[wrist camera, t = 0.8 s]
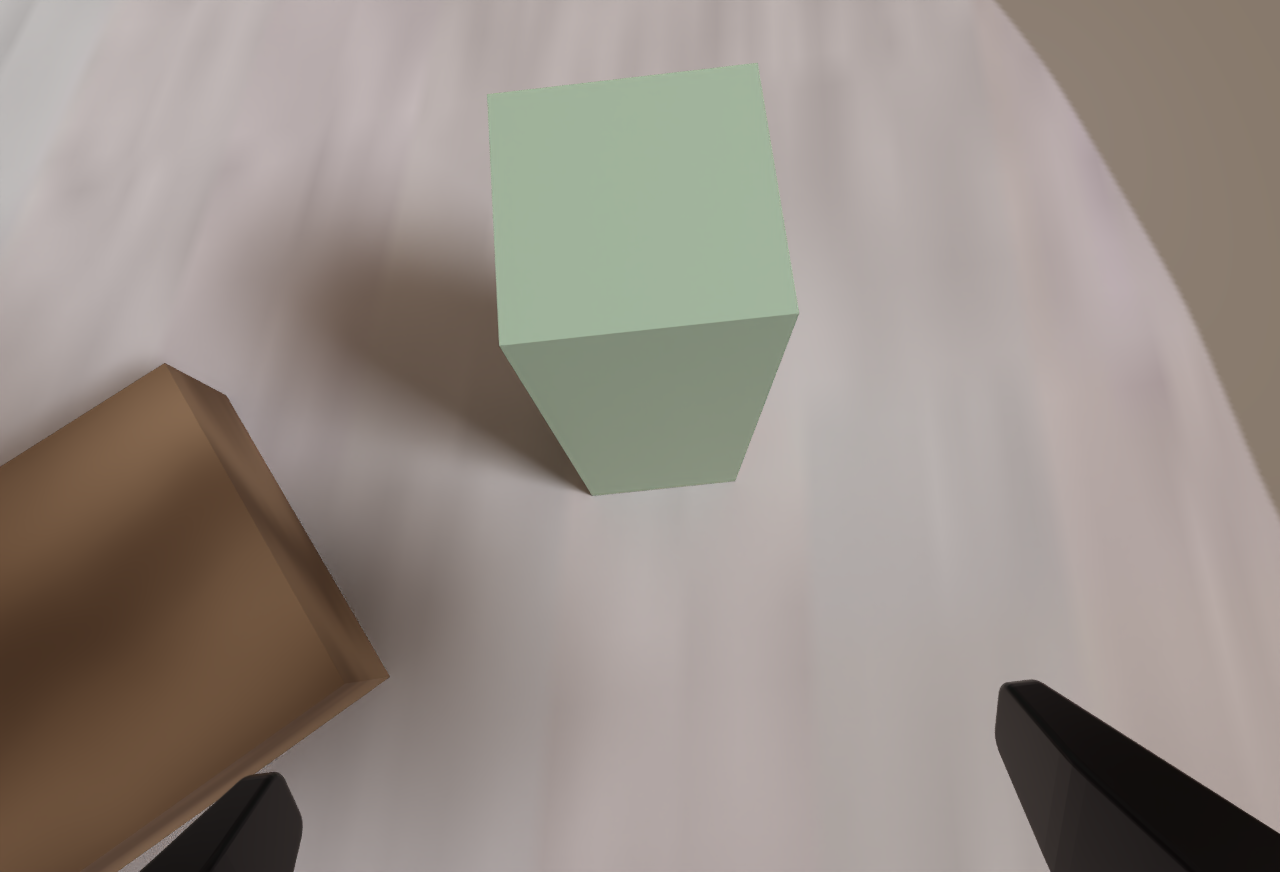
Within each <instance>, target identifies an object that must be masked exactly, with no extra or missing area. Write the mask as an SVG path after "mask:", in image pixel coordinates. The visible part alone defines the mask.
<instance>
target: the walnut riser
mask: <svg viewBox="0 0 1280 872" xmlns="http://www.w3.org/2000/svg"><path fill="white" fill-rule="evenodd" d="M389 677H390V676H389V674H388V673H387V671H386V669H385V668H384V666H383V664H382V662H381V661H380V659H379V657H378V655H377V654H376V652H375V650H374V649H373V647H372V645H371V643H370V642H369V640H368V638H367V637H366V635H365V633H364V631H363V630H362V628H361V626H360V625H359V623H358V621H357V619H356V618H355V616H354V614H353V613H352V611H351V609H350V607H349V606H348V604H347V602H346V600H345V599H344V597H343V595H342V594H341V592H340V590H339V588H338V587H337V585H336V583H335V582H334V580H333V578H332V576H331V575H330V573H329V571H328V570H327V568H326V566H325V564H324V563H323V561H322V559H321V557H320V556H319V554H318V552H317V551H316V549H315V547H314V545H313V544H312V542H311V540H310V539H309V537H308V535H307V533H306V532H305V530H304V528H303V527H302V525H301V523H300V521H299V520H298V518H297V516H296V515H295V513H294V511H293V509H292V508H291V506H290V504H289V502H288V501H287V499H286V497H285V496H284V494H283V492H282V490H281V489H280V487H279V485H278V484H277V482H276V480H275V478H274V477H273V475H272V473H271V472H270V470H269V468H268V466H267V465H266V463H265V461H264V459H263V458H262V456H261V454H260V453H259V451H258V449H257V447H256V446H255V444H254V442H253V441H252V439H251V437H250V435H249V434H248V432H247V430H246V429H245V427H244V425H243V423H242V422H241V420H240V418H239V417H238V415H237V413H236V411H235V410H234V408H233V406H232V404H231V403H230V401H229V399H228V398H227V396H226V395H224V394H222V393H220V392H218V391H217V390H215V389H213V388H211V387H209V386H207V385H205V384H203V383H201V382H200V381H198V380H196V379H194V378H192V377H190V376H188V375H186V374H184V373H183V372H181V371H179V370H177V369H175V368H173V367H171V366H169V365H167V364H166V363H164V364H162V365H161V366H159V367H158V368H156V369H154V370H153V371H151V372H150V373H148V374H147V375H145V376H143V377H142V378H140V379H139V380H137V381H135V382H134V383H132V384H131V385H129V386H128V387H126V388H124V389H123V390H121V391H120V392H118V393H116V394H115V395H113V396H112V397H110V398H109V399H107V400H105V401H104V402H102V403H101V404H99V405H97V406H96V407H94V408H93V409H91V410H90V411H88V412H86V413H85V414H83V415H82V416H80V417H78V418H77V419H75V420H74V421H72V422H71V423H69V424H67V425H66V426H64V427H63V428H61V429H59V430H58V431H56V432H55V433H53V434H52V435H50V436H48V437H47V438H45V439H44V440H42V441H40V442H39V443H37V444H36V445H34V446H33V447H31V448H29V449H28V450H26V451H25V452H23V453H21V454H20V455H18V456H17V457H15V458H14V459H12V460H10V461H9V462H7V463H6V464H4V465H2V466H1V467H0V872H118V871H119V870H120V869H122V868H123V867H125V866H126V865H127V864H129V863H130V862H132V861H133V860H134V859H136V858H137V857H139V856H140V855H141V854H143V853H144V852H146V851H147V850H148V849H150V848H151V847H153V846H154V845H155V844H157V843H158V842H160V841H161V840H162V839H164V838H165V837H167V836H168V835H169V834H171V833H172V832H174V831H175V830H176V829H178V828H179V827H181V826H182V825H183V824H185V823H186V822H188V821H189V820H190V819H192V818H193V817H195V816H196V815H197V814H199V813H200V812H202V811H203V810H204V809H206V808H207V807H209V806H210V805H211V804H213V803H214V802H216V801H217V800H218V799H219V798H221V797H222V796H223V795H224V794H225V793H226V792H227V791H228V790H229V789H230V788H231V787H233V786H234V785H235V784H236V783H237V782H238V781H239V780H241V779H242V778H244V777H245V776H248V775H253V774H255V773H256V772H258V771H259V770H260V769H262V768H263V767H265V766H266V765H267V764H269V763H270V762H272V761H273V760H274V759H276V758H277V757H279V756H280V755H281V754H283V753H284V752H286V751H287V750H288V749H290V748H291V747H293V746H294V745H295V744H297V743H298V742H300V741H301V740H302V739H304V738H305V737H307V736H308V735H309V734H311V733H312V732H314V731H315V730H316V729H318V728H319V727H321V726H322V725H323V724H325V723H326V722H328V721H329V720H330V719H332V718H333V717H335V716H336V715H337V714H339V713H340V712H342V711H343V710H344V709H346V708H347V707H349V706H350V705H351V704H353V703H354V702H356V701H357V700H358V699H360V698H361V697H363V696H364V695H365V694H367V693H368V692H370V691H371V690H372V689H374V688H375V687H377V686H378V685H379V684H381V683H382V682H384V681H385V680H386V679H388V678H389Z"/></svg>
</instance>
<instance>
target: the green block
mask: <svg viewBox="0 0 1280 872" xmlns="http://www.w3.org/2000/svg"><path fill="white" fill-rule="evenodd" d="M487 102H488V123H489V144H490V164H491V185H492V206H493V227H494V248H495V269H496V290H497V310H498V331H499V346H500V348H501V350H502V351H503V353H504V354H505V356H506V358H507V359H508V361H509V362H510V364H511V366H512V367H513V369H514V370H515V372H516V374H517V375H518V377H519V379H520V380H521V382H522V383H523V385H524V387H525V388H526V390H527V391H528V393H529V395H530V396H531V398H532V399H533V401H534V403H535V404H536V406H537V408H538V409H539V411H540V412H541V414H542V416H543V417H544V419H545V420H546V422H547V424H548V425H549V427H550V429H551V430H552V432H553V433H554V435H555V437H556V438H557V440H558V441H559V443H560V445H561V446H562V448H563V449H564V451H565V453H566V454H567V456H568V458H569V459H570V461H571V462H572V464H573V466H574V467H575V469H576V470H577V472H578V474H579V475H580V477H581V478H582V480H583V482H584V483H585V485H586V487H587V488H588V490H589V491H590V493H591V495H592V496H596V495H606V494H616V493H625V492H635V491H645V490H654V489H664V488H674V487H684V486H693V485H703V484H713V483H722V482H732V481H735V480H736V477H737V475H738V472H739V469H740V467H741V464H742V462H743V459H744V456H745V454H746V451H747V448H748V446H749V443H750V441H751V438H752V435H753V433H754V430H755V428H756V425H757V422H758V420H759V417H760V414H761V412H762V409H763V407H764V404H765V401H766V399H767V396H768V393H769V391H770V388H771V386H772V383H773V380H774V378H775V375H776V372H777V370H778V367H779V365H780V362H781V359H782V357H783V354H784V351H785V349H786V346H787V344H788V341H789V338H790V336H791V333H792V330H793V328H794V325H795V323H796V320H797V317H798V315H799V310H798V304H797V298H796V292H795V286H794V280H793V274H792V268H791V262H790V256H789V250H788V244H787V238H786V232H785V226H784V220H783V214H782V207H781V201H780V195H779V189H778V183H777V177H776V171H775V165H774V159H773V153H772V147H771V141H770V135H769V129H768V123H767V117H766V111H765V105H764V99H763V93H762V87H761V81H760V75H759V69H758V63H753V64H744V65H736V66H727V67H718V68H710V69H701V70H693V71H684V72H675V73H667V74H658V75H650V76H641V77H632V78H624V79H615V80H606V81H598V82H589V83H581V84H572V85H563V86H555V87H546V88H538V89H529V90H520V91H512V92H503V93H494V94H487Z"/></svg>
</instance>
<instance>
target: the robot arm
mask: <svg viewBox="0 0 1280 872" xmlns="http://www.w3.org/2000/svg"><path fill="white" fill-rule="evenodd" d="M995 739H996V744H997V747H998V750H999V753H1000V755H1001V758H1002V760H1003V762H1004V765H1005V767H1006V769H1007V772H1008V774H1009V776H1010V779H1011V781H1012V783H1013V786H1014V788H1015V791H1016V793H1017V795H1018V798H1019V800H1020V802H1021V805H1022V807H1023V809H1024V812H1025V814H1026V816H1027V819H1028V821H1029V823H1030V826H1031V828H1032V830H1033V833H1034V835H1035V837H1036V840H1037V842H1038V844H1039V847H1040V849H1041V851H1042V854H1043V856H1044V858H1045V861H1046V863H1047V865H1048V867H1049V869H1050V872H1280V834H1279V833H1278V832H1276V831H1275V830H1273V829H1272V828H1270V827H1268V826H1267V825H1265V824H1264V823H1262V822H1261V821H1259V820H1257V819H1256V818H1254V817H1253V816H1251V815H1250V814H1248V813H1246V812H1245V811H1243V810H1242V809H1240V808H1239V807H1237V806H1235V805H1234V804H1232V803H1231V802H1229V801H1228V800H1226V799H1224V798H1223V797H1221V796H1220V795H1218V794H1217V793H1215V792H1213V791H1212V790H1210V789H1209V788H1207V787H1206V786H1204V785H1202V784H1201V783H1199V782H1198V781H1196V780H1195V779H1193V778H1191V777H1190V776H1188V775H1187V774H1185V773H1184V772H1182V771H1180V770H1179V769H1177V768H1176V767H1174V766H1173V765H1171V764H1169V763H1168V762H1166V761H1165V760H1163V759H1162V758H1160V757H1158V756H1157V755H1155V754H1154V753H1152V752H1151V751H1149V750H1147V749H1146V748H1144V747H1143V746H1141V745H1140V744H1138V743H1136V742H1135V741H1133V740H1132V739H1130V738H1129V737H1127V736H1125V735H1124V734H1122V733H1121V732H1119V731H1117V730H1116V729H1114V728H1113V727H1111V726H1110V725H1108V724H1106V723H1105V722H1103V721H1102V720H1100V719H1099V718H1097V717H1095V716H1094V715H1092V714H1091V713H1089V712H1088V711H1086V710H1084V709H1083V708H1081V707H1080V706H1078V705H1077V704H1075V703H1073V702H1072V701H1070V700H1069V699H1067V698H1066V697H1064V696H1062V695H1061V694H1059V693H1058V692H1056V691H1055V690H1053V689H1051V688H1050V687H1048V686H1047V685H1045V684H1044V683H1042V682H1040V681H1037V680H1032V679H1031V680H1022V681H1014V682H1006V683H1004V684H1003V685H1002V686H1001V687H1000V690H999V696H998V705H997V715H996V724H995ZM302 828H303V826H302V817H301V814H300V811H299V809H298V807H297V805H296V803H295V800H294V798H293V796H292V794H291V792H290V790H289V787H288V785H287V783H286V781H285V779H284V777H283V776H282V775H281V774H279V773H278V772H269V773H261V774H253V775H248V776H245V777H244V778H242V779H241V780H239V781H238V782H237V783H236V784H235V785H234V786H233V787H231V788H230V789H229V790H228V791H227V792H226V793H225V794H224V795H223V796H222V797H221V798H219V799H218V800H217V801H216V802H215V803H214V804H213V805H212V806H211V807H210V808H209V809H207V810H206V811H205V812H204V813H203V814H202V815H201V816H200V817H199V818H198V819H197V820H195V821H194V822H193V823H192V824H191V825H190V826H189V827H188V828H187V829H186V830H184V831H183V832H182V833H181V834H180V835H179V836H178V837H177V838H176V839H175V840H174V841H172V842H171V843H170V844H169V845H168V846H167V847H166V848H165V849H164V850H163V851H162V852H160V853H159V854H158V855H157V856H156V857H155V858H154V859H153V860H152V861H151V862H150V863H148V864H147V865H146V866H145V867H144V868H143V869H142V870H141V871H140V872H294V867H295V863H296V859H297V854H298V850H299V846H300V842H301V837H302Z"/></svg>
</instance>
